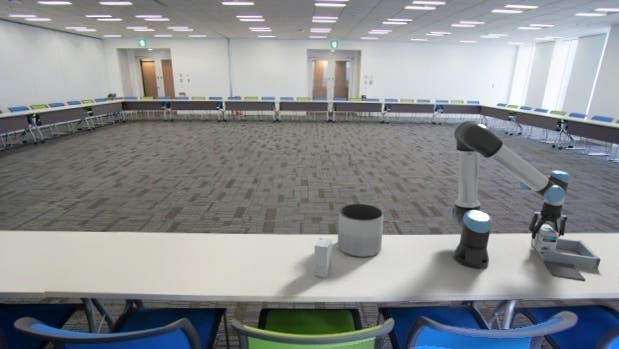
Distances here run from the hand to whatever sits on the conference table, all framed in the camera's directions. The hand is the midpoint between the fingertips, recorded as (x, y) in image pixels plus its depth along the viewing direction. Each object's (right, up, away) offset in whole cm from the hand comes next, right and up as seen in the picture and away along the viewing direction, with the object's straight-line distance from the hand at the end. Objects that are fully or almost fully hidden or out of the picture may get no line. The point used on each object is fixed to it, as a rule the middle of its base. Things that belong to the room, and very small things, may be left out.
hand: (542, 245), depth 164 cm
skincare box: (-111, -8, -17) cm, 112 cm away
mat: (-1, -8, -15) cm, 17 cm away
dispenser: (+9, -4, -1) cm, 10 cm away
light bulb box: (0, -1, 0) cm, 1 cm away
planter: (-91, -2, +4) cm, 91 cm away
